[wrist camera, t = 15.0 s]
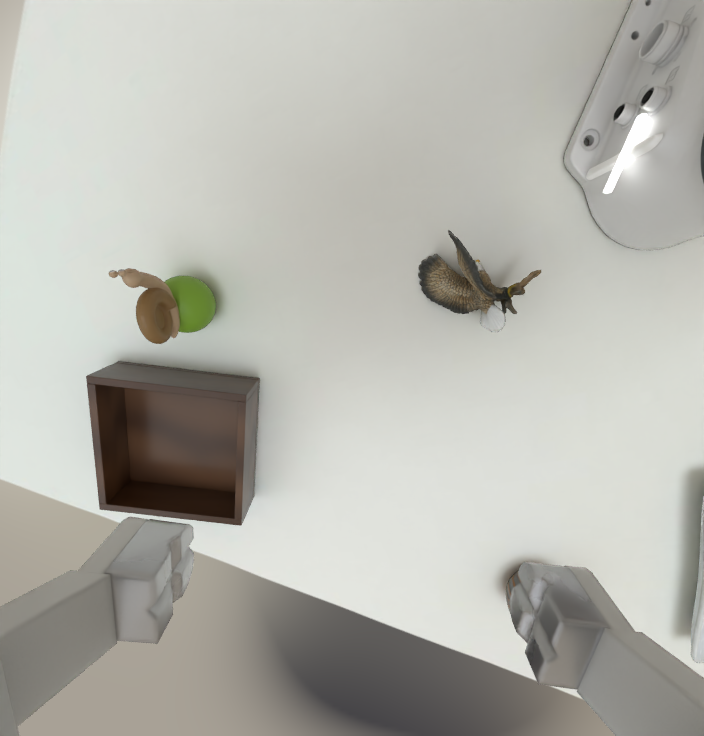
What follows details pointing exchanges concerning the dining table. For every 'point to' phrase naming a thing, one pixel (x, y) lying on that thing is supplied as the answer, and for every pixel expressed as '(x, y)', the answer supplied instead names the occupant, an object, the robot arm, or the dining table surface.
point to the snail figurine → (169, 304)
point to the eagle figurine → (468, 288)
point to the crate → (174, 441)
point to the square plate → (699, 606)
